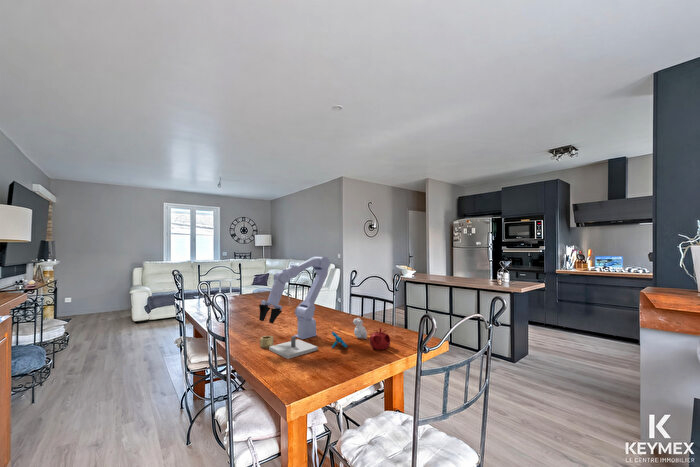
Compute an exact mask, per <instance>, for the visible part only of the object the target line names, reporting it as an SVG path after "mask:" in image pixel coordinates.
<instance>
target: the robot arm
mask: <svg viewBox="0 0 700 467" xmlns="http://www.w3.org/2000/svg"><path fill="white" fill-rule="evenodd" d="M330 265H331V263H330V259H329V257H327V256H317V255H315V256H313V257H309V259H307V260H305V261H303V262H302V263H300V264H298V265H297V264H290V266H289V267H287V268H283V269H282V270H280V271H276V273H275V274H274V275H273V282H272V283H273V284H272V286H271V288H270V292H269V295H268V296H267V297H268V299H267V300H264V299H262V300H261V302H260V303H259V306H258V308H259V318H258V319H259V320H258V321H260V322H264V321H265V319H266V317H267V315H268V312H269V311H270V315H269V316H270V317H269V321H268V322H269V323H270V324H272V325H273V324H274V322H275V321H276V320H277V318H278V317H279V315H280V314H282V312H283V306H282V305H279V304H280V301H281V298H282V295H283V292H284V289H285V286H286V284H287V283H289V281H290V280H291V279H293V278H295V277H297V276H299V275H300V273H301V272H302V271H305V270H306V269H309V268H313V270H314V271H315V273H316V275H315V278H314V280H313V281H312V284H311V285H310V287H309V290H308V292H307V294H306V297H305V298H304V300H303V301H301V302H300V303H299V304H298V305H297V306H296V308H295V310H294V314H295V316H296V319H297V334H294V335H293V336H295V337H296V338H298V339H299V340H305V339H309V338H314V337H317V336H318V335H317V323H316V319H315V318H314V316H315V310H316V306H315V302H316V300H317V298H318V296H319V294H320V292H321V290H322V288H323V285H324V283H325V282H326V279H327V277H328V274H329V273H328V272H329V268H330Z"/></svg>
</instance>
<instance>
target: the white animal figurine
mask: <svg viewBox="0 0 700 467" xmlns="http://www.w3.org/2000/svg"><path fill="white" fill-rule="evenodd" d="M363 323H364V321H363V320H362V319H361V318H360V317H357V318H354V319H353V320H352V324H353V325H354V326H355V325H356V326H355V327H354V330H353V333H354V336H355V337H356V338H357V339H363V340H367V338H368V331H367V329H366V327H365V326H364V325H363Z"/></svg>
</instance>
